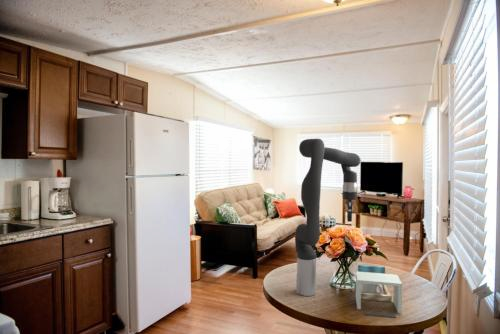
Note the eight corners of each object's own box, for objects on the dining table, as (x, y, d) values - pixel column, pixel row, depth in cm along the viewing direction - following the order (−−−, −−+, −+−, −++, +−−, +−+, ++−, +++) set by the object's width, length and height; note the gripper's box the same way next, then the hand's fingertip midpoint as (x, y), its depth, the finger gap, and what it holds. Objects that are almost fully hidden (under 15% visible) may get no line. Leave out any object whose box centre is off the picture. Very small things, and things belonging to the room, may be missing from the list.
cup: (387, 298, 160) (387, 281, 160) (377, 301, 156) (377, 284, 156) (368, 290, 169) (368, 274, 169) (357, 294, 165) (357, 277, 165)
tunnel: (357, 308, 148) (357, 280, 148) (355, 298, 160) (355, 271, 160) (401, 313, 144) (402, 283, 144) (396, 302, 155) (397, 274, 155)
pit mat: (365, 314, 143) (365, 313, 143) (364, 312, 145) (364, 311, 145) (396, 318, 140) (396, 317, 140) (395, 315, 142) (395, 314, 142)
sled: (360, 298, 159) (361, 279, 159) (357, 281, 182) (357, 264, 182) (391, 301, 156) (391, 282, 156) (384, 283, 179) (384, 266, 179)
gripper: (342, 189, 193) (342, 217, 194) (342, 191, 180) (342, 222, 180) (356, 189, 191) (356, 218, 192) (357, 191, 178) (357, 222, 178)
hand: (349, 220), depth 186 cm, fingers open, 8 cm apart
